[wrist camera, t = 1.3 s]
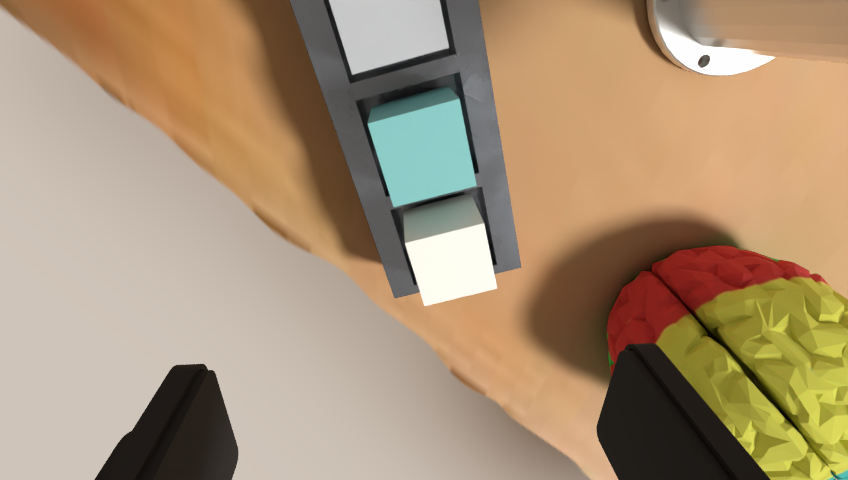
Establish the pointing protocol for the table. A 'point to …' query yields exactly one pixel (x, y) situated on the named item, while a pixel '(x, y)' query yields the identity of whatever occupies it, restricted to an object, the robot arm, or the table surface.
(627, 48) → the table surface
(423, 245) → the ivory key
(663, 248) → the table surface
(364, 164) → the console
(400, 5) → the grey key
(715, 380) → the brain model
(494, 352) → the table surface
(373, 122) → the teal key
